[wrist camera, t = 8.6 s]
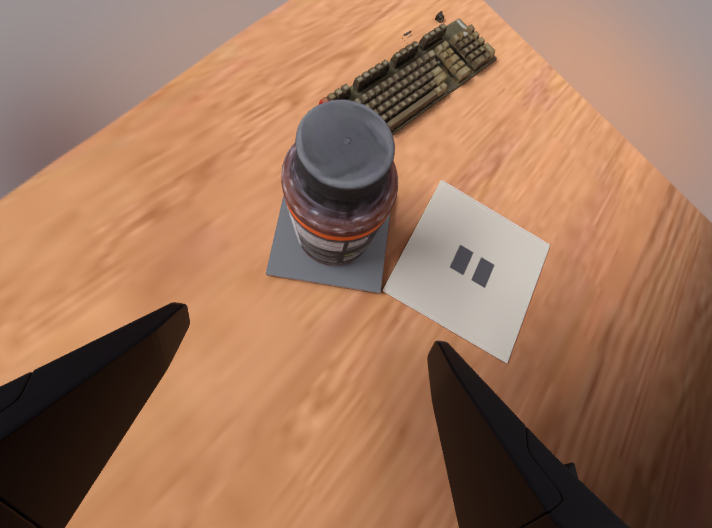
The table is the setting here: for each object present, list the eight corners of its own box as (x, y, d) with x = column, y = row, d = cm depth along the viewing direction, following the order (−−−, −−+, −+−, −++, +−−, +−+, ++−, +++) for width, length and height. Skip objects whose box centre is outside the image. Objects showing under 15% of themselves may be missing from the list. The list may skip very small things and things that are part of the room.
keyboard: (353, 173, 24) (356, 160, 22) (291, 104, 24) (289, 85, 22) (497, 68, 29) (510, 50, 27) (443, 13, 30) (452, -9, 28)
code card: (505, 363, 22) (507, 363, 21) (382, 290, 21) (382, 290, 21) (548, 245, 25) (550, 244, 24) (440, 180, 24) (441, 179, 24)
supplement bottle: (327, 184, 22) (336, 50, 11) (383, 227, 22) (448, 136, 11) (280, 236, 20) (234, 141, 9) (339, 283, 20) (363, 242, 9)
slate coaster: (378, 293, 21) (380, 292, 21) (267, 275, 20) (265, 274, 20) (390, 194, 23) (392, 191, 23) (290, 173, 22) (289, 169, 22)
